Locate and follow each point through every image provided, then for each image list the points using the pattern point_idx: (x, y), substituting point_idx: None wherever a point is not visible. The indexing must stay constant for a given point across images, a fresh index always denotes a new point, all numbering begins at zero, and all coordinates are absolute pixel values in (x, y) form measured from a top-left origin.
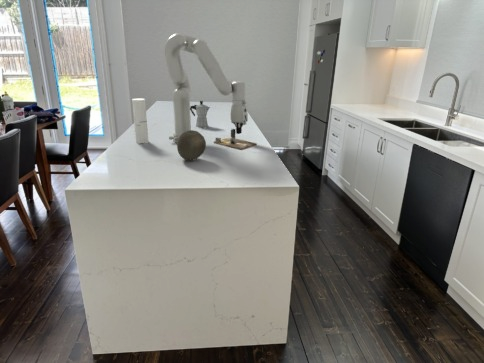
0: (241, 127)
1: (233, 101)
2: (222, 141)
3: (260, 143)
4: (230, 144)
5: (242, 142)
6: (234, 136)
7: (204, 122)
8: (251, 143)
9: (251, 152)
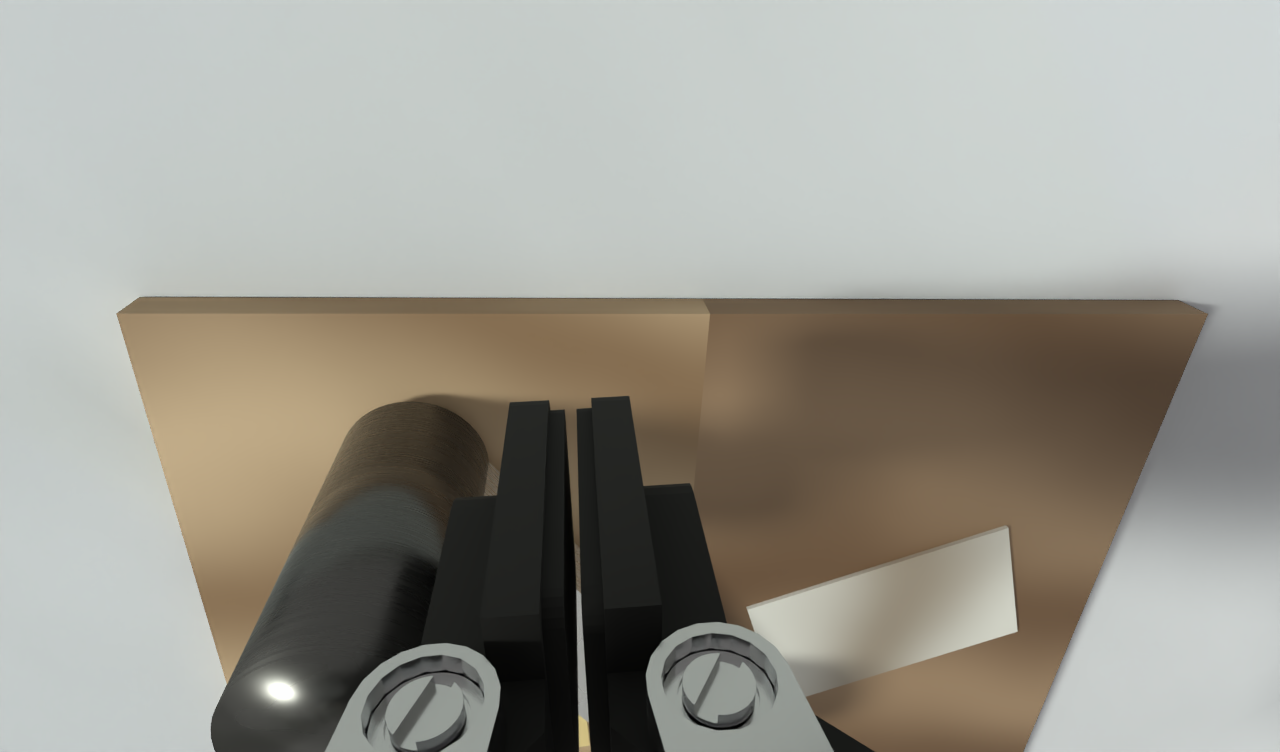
0: (732, 651)
1: None
2: None
3: (1244, 104)
4: None
5: (827, 493)
6: None
7: None
8: (1076, 411)
9: (1223, 727)
